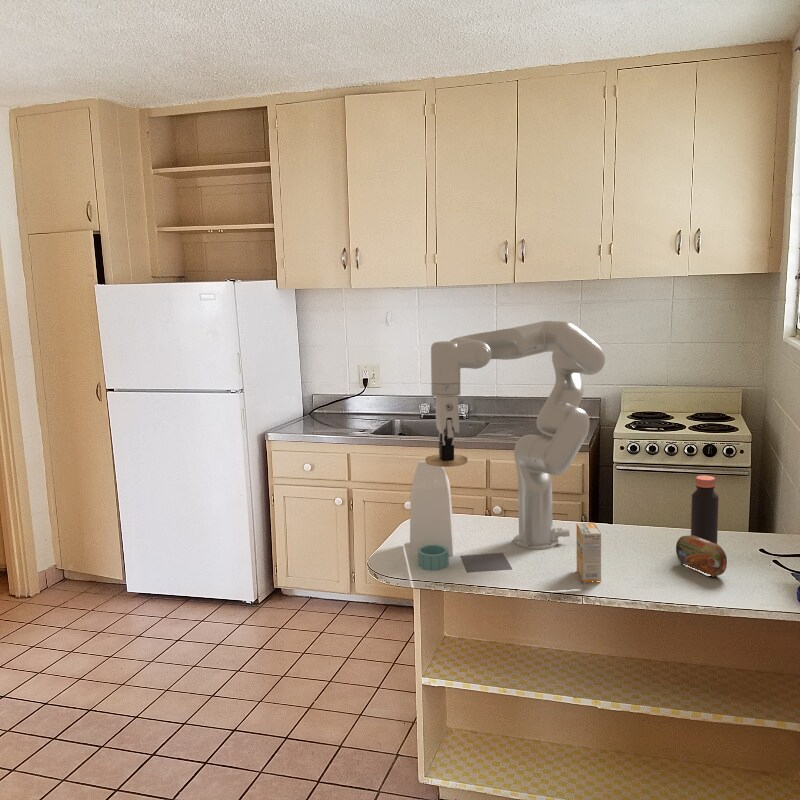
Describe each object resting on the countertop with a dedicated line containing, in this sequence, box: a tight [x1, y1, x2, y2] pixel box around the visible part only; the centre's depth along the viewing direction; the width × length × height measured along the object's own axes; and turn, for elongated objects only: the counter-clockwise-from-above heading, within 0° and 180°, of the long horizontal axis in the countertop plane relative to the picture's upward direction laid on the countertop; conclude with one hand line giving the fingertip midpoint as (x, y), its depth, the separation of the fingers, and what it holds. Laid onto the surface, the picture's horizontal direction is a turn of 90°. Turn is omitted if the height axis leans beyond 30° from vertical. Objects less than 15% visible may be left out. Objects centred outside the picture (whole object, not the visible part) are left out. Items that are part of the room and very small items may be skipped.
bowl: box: [417, 545, 450, 571], centre depth 204 cm, size 8×8×4 cm
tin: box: [675, 534, 728, 578], centre depth 193 cm, size 15×3×8 cm, turn 23°
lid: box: [424, 443, 468, 468], centre depth 199 cm, size 11×11×5 cm
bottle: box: [690, 475, 719, 545], centre depth 207 cm, size 7×7×20 cm
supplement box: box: [576, 522, 602, 583], centre depth 192 cm, size 8×5×13 cm, turn 178°
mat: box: [459, 552, 513, 573], centre depth 204 cm, size 12×12×1 cm
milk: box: [409, 460, 455, 557], centre depth 214 cm, size 12×12×26 cm
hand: (446, 457), depth 199 cm, fingers closed on lid, 3 cm apart
